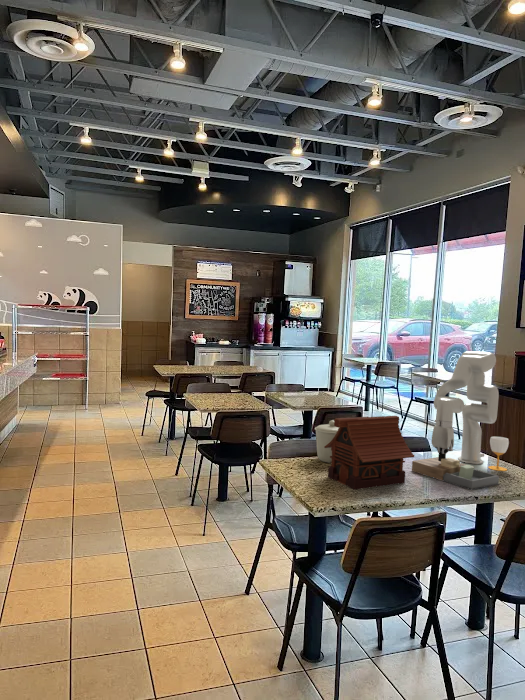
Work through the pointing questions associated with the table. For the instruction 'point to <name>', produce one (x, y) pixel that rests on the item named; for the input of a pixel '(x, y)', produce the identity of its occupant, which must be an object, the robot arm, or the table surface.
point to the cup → (498, 450)
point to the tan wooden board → (433, 468)
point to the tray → (472, 480)
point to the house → (368, 452)
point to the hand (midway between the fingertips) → (441, 461)
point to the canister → (325, 440)
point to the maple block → (450, 462)
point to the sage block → (466, 471)
